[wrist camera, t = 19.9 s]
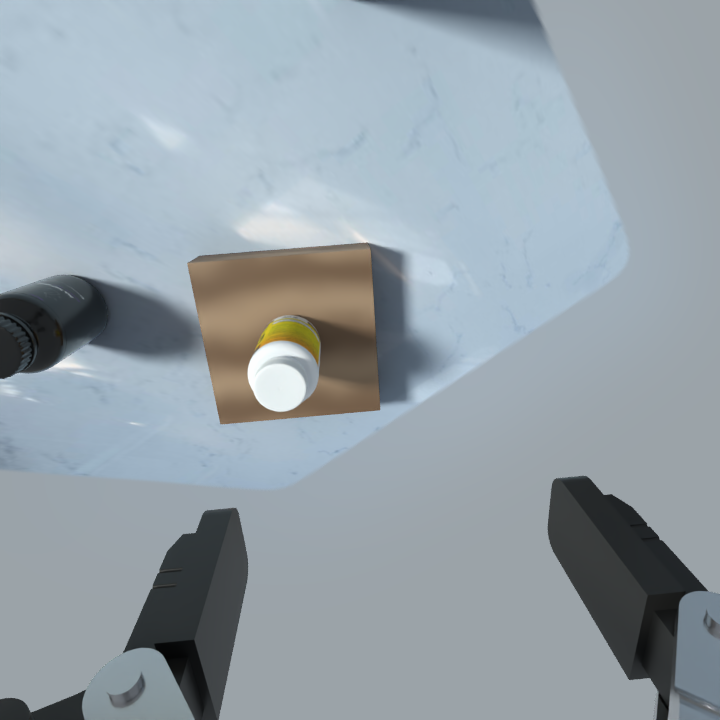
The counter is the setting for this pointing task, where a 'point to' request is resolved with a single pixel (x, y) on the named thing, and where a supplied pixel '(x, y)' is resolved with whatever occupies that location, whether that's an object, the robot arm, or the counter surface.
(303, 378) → the supplement bottle
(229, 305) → the walnut block
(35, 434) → the counter surface
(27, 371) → the supplement bottle
